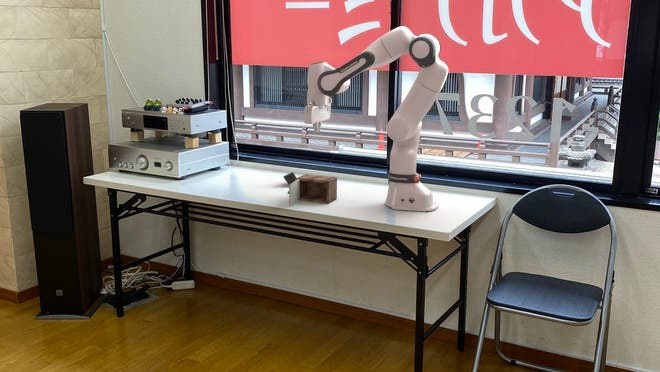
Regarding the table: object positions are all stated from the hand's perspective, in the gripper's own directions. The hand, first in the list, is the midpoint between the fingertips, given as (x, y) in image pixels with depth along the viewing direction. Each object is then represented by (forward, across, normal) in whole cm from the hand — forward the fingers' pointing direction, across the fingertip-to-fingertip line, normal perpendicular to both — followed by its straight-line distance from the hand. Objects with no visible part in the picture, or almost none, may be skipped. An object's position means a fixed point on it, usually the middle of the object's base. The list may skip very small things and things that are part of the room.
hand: (317, 132), depth 276 cm
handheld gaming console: (+30, +18, +19) cm, 39 cm away
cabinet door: (+28, -15, +4) cm, 32 cm away
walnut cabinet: (+29, -4, -2) cm, 29 cm away
